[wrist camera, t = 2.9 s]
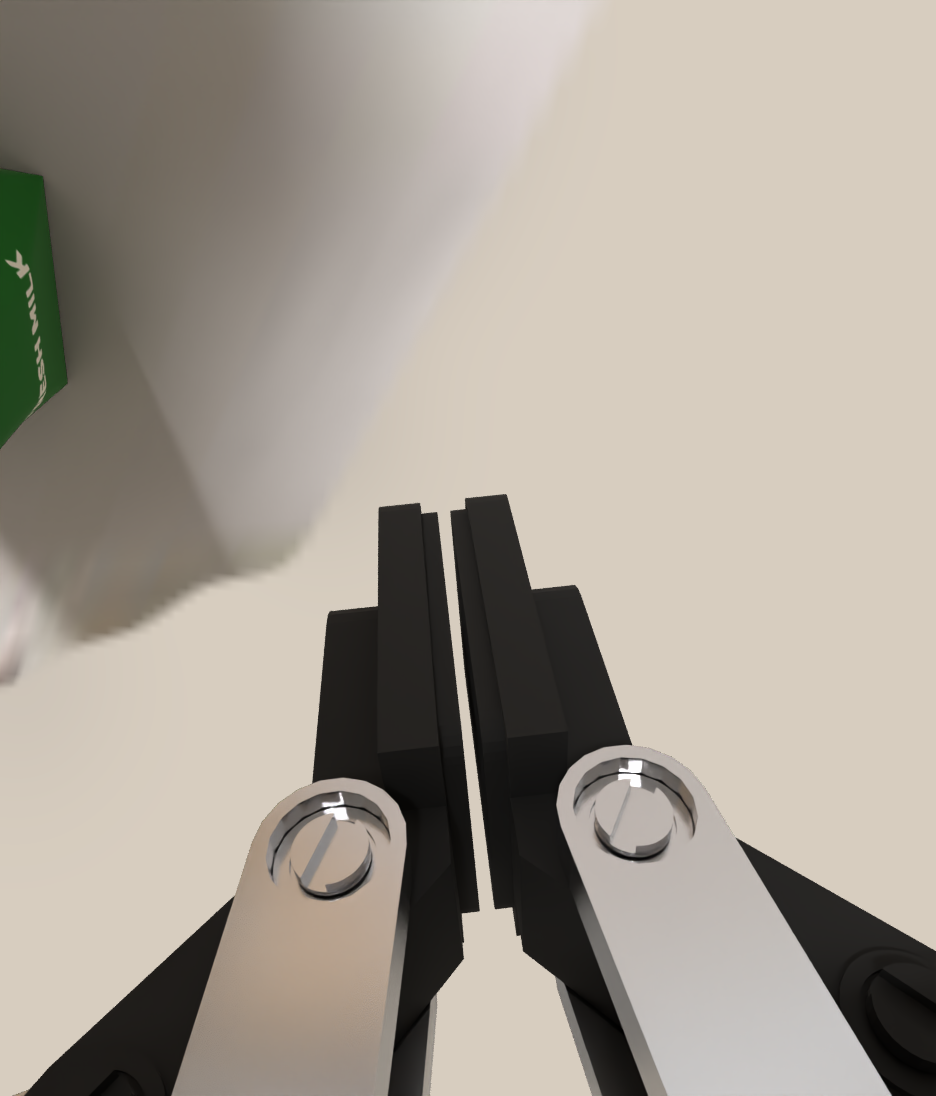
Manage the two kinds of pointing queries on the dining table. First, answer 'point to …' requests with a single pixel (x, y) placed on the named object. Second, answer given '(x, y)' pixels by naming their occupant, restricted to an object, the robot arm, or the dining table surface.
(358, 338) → the dining table surface
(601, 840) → the robot arm
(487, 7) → the dining table surface
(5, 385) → the soya milk
